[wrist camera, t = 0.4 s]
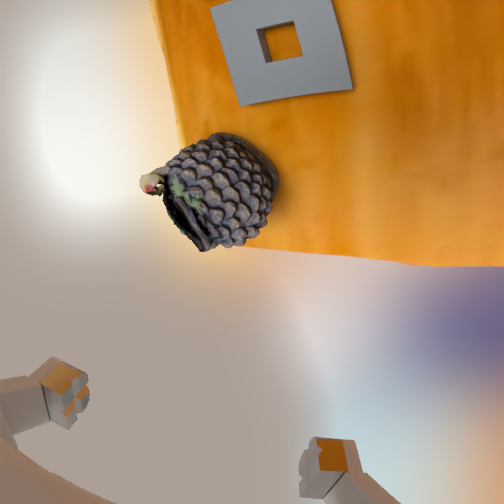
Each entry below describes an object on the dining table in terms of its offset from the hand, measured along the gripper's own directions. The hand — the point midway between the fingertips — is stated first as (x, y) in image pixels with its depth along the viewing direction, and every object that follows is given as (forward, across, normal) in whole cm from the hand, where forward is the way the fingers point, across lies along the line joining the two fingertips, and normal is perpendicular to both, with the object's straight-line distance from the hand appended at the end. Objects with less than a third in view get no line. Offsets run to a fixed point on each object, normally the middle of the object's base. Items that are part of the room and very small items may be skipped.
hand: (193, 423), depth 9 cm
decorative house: (+57, +7, -10) cm, 59 cm away
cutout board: (+44, +4, -33) cm, 55 cm away
